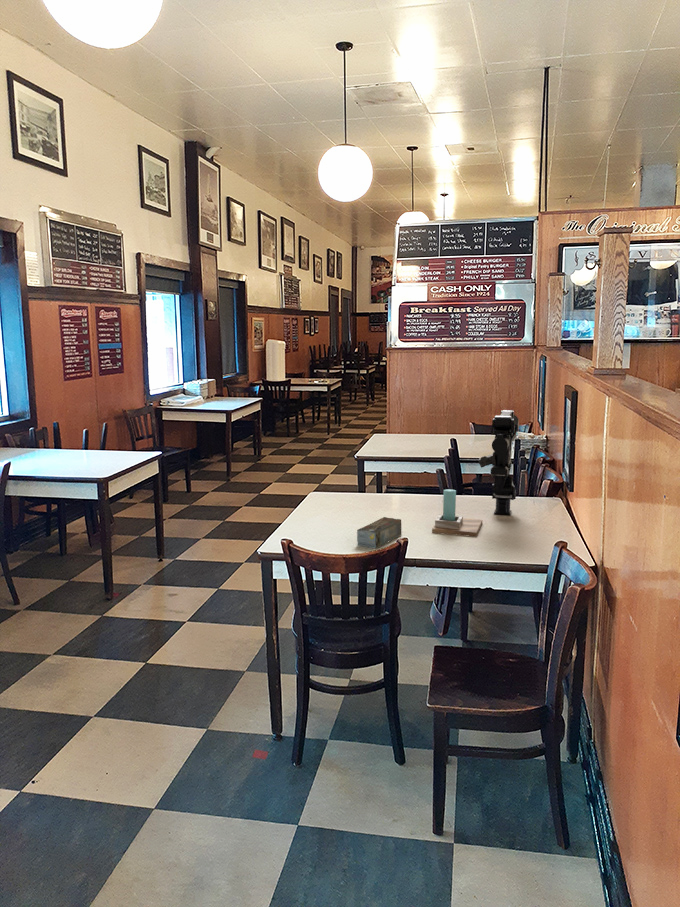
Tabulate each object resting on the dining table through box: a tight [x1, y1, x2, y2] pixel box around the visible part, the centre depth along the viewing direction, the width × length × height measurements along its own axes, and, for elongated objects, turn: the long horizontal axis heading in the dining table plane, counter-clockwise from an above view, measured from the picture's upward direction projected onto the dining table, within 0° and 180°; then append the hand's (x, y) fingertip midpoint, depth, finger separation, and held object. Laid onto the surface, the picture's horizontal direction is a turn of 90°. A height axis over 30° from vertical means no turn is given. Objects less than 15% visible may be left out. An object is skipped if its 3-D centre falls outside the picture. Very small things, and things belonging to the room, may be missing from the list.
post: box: [442, 489, 457, 521], centre depth 259 cm, size 4×4×13 cm
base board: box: [431, 514, 483, 537], centre depth 261 cm, size 18×16×4 cm
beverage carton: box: [356, 516, 402, 550], centre depth 246 cm, size 8×19×7 cm, turn 147°
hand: (500, 489), depth 267 cm, fingers open, 9 cm apart
